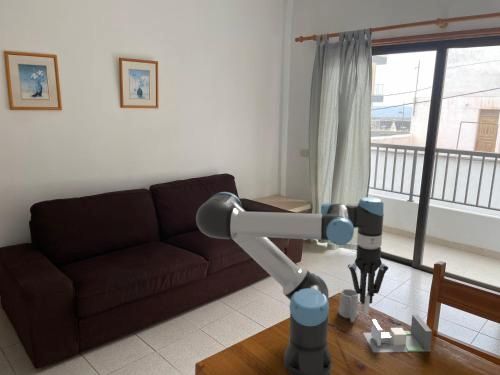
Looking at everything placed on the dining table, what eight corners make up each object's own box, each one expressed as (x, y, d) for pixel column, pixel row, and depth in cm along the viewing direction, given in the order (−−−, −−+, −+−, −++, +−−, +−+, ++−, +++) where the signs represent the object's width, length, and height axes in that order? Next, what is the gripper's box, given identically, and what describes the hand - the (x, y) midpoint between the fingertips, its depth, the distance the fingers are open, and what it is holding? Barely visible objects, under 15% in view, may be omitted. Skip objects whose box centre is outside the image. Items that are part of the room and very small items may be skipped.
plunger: (377, 345, 128) (378, 329, 127) (371, 335, 134) (372, 319, 133) (392, 345, 129) (393, 329, 127) (385, 335, 134) (387, 319, 133)
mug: (355, 310, 154) (357, 283, 151) (363, 327, 142) (365, 298, 140) (336, 310, 154) (337, 282, 151) (342, 327, 142) (344, 297, 140)
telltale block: (394, 345, 130) (395, 334, 129) (389, 338, 134) (390, 327, 133) (405, 344, 130) (406, 334, 129) (400, 337, 134) (401, 327, 133)
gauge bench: (373, 355, 126) (375, 333, 125) (362, 335, 137) (364, 315, 135) (430, 354, 127) (432, 332, 125) (415, 334, 138) (417, 313, 136)
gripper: (352, 250, 120) (349, 318, 125) (393, 249, 120) (388, 317, 125) (345, 241, 127) (343, 306, 132) (384, 240, 128) (380, 305, 133)
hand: (365, 311), depth 129 cm, fingers closed
